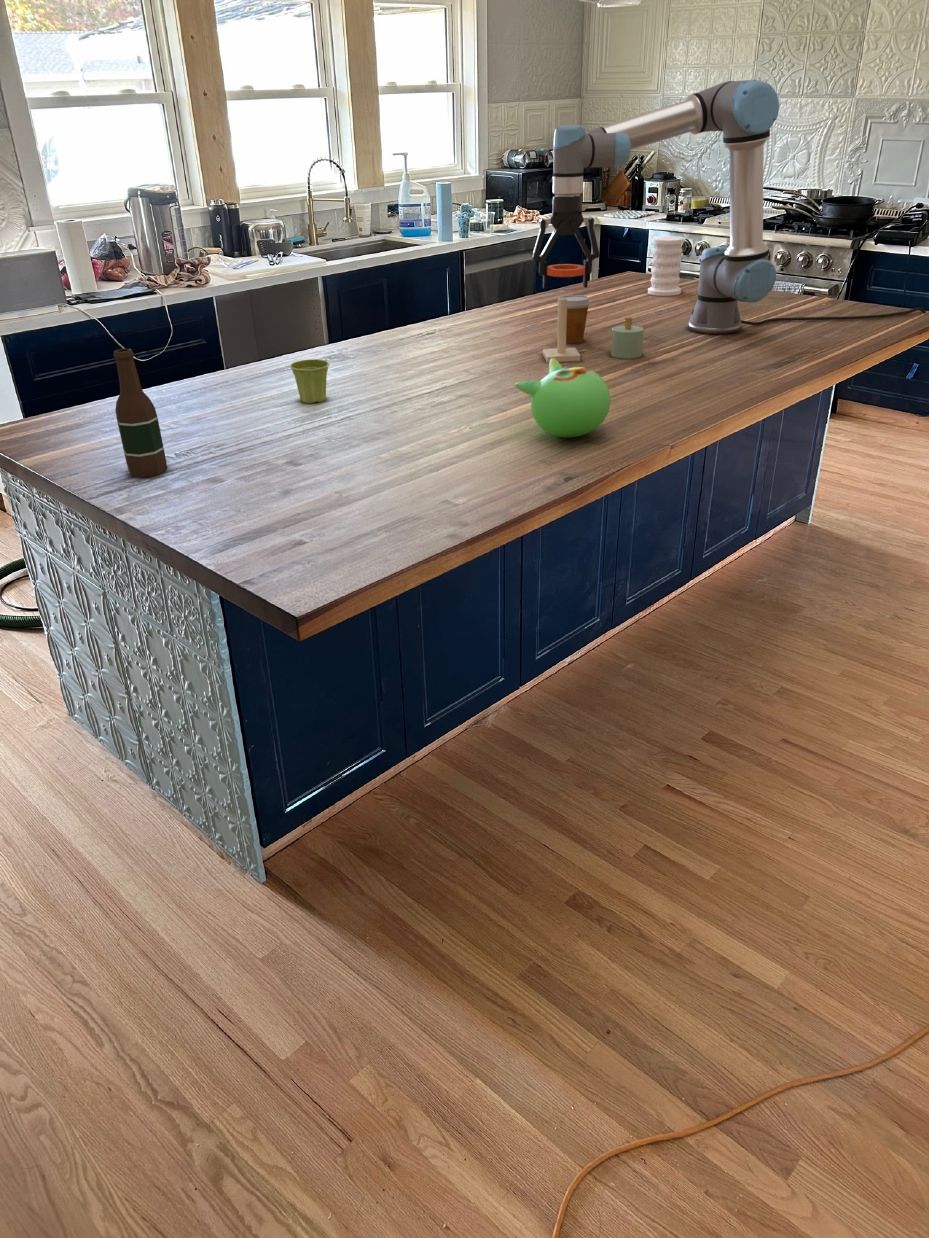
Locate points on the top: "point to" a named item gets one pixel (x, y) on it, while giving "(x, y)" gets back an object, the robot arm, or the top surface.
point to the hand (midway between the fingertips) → (564, 287)
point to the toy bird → (568, 400)
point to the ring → (565, 270)
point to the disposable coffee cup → (576, 317)
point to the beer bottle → (137, 422)
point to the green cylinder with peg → (627, 340)
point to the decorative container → (666, 265)
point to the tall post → (561, 338)
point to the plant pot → (311, 379)
